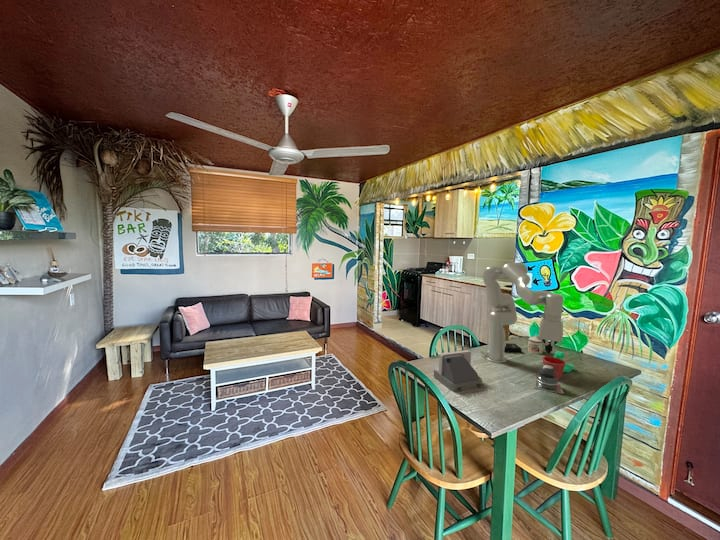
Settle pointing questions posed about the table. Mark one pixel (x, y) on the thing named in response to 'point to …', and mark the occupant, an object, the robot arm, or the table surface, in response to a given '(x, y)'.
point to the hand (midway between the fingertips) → (548, 352)
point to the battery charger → (512, 348)
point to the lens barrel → (547, 383)
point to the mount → (561, 356)
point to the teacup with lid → (535, 345)
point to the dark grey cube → (547, 371)
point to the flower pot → (555, 365)
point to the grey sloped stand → (457, 371)
